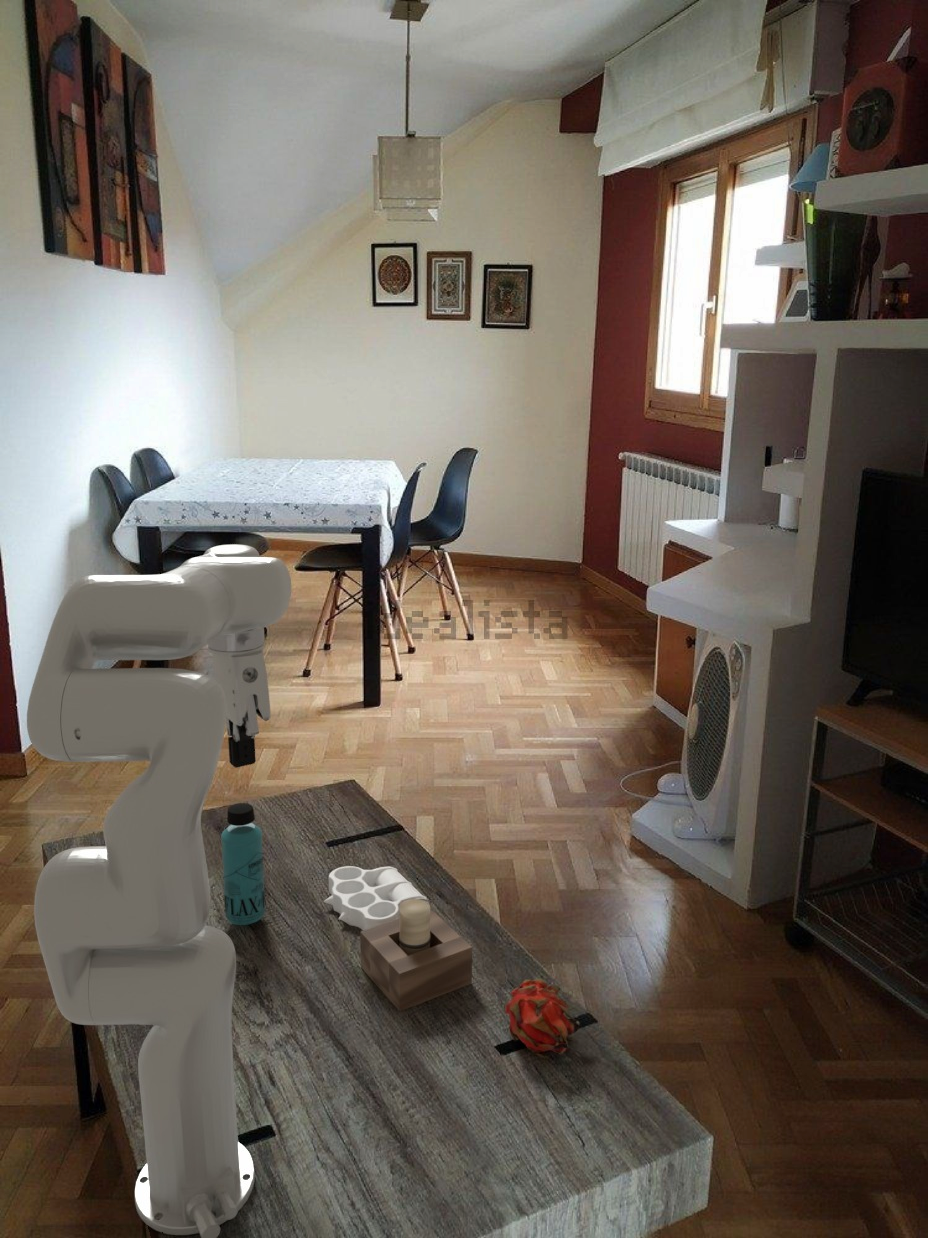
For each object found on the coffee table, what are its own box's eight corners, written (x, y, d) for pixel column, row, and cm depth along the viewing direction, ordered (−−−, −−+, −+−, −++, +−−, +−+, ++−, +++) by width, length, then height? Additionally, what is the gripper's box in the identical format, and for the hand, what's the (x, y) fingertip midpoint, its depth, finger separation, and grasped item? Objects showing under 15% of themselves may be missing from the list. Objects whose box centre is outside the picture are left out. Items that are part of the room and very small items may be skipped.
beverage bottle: (217, 931, 155) (210, 814, 149) (236, 908, 161) (230, 795, 156) (256, 937, 153) (250, 819, 148) (274, 914, 160) (268, 800, 154)
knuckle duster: (437, 921, 159) (354, 948, 151) (387, 871, 174) (308, 893, 166) (437, 902, 158) (353, 929, 151) (386, 854, 173) (308, 875, 165)
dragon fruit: (519, 1019, 138) (563, 1086, 128) (478, 1005, 133) (520, 1073, 123) (556, 971, 137) (603, 1034, 127) (515, 955, 132) (561, 1020, 122)
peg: (436, 972, 143) (436, 910, 141) (407, 981, 141) (407, 919, 139) (421, 956, 147) (421, 895, 145) (393, 965, 145) (393, 903, 143)
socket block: (471, 983, 143) (472, 947, 141) (399, 1011, 137) (399, 974, 135) (429, 943, 152) (429, 908, 151) (361, 967, 146) (360, 931, 145)
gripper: (283, 647, 129) (289, 777, 134) (242, 620, 141) (249, 740, 146) (227, 656, 125) (235, 789, 130) (190, 628, 137) (199, 751, 142)
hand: (242, 763), depth 138 cm, fingers closed
